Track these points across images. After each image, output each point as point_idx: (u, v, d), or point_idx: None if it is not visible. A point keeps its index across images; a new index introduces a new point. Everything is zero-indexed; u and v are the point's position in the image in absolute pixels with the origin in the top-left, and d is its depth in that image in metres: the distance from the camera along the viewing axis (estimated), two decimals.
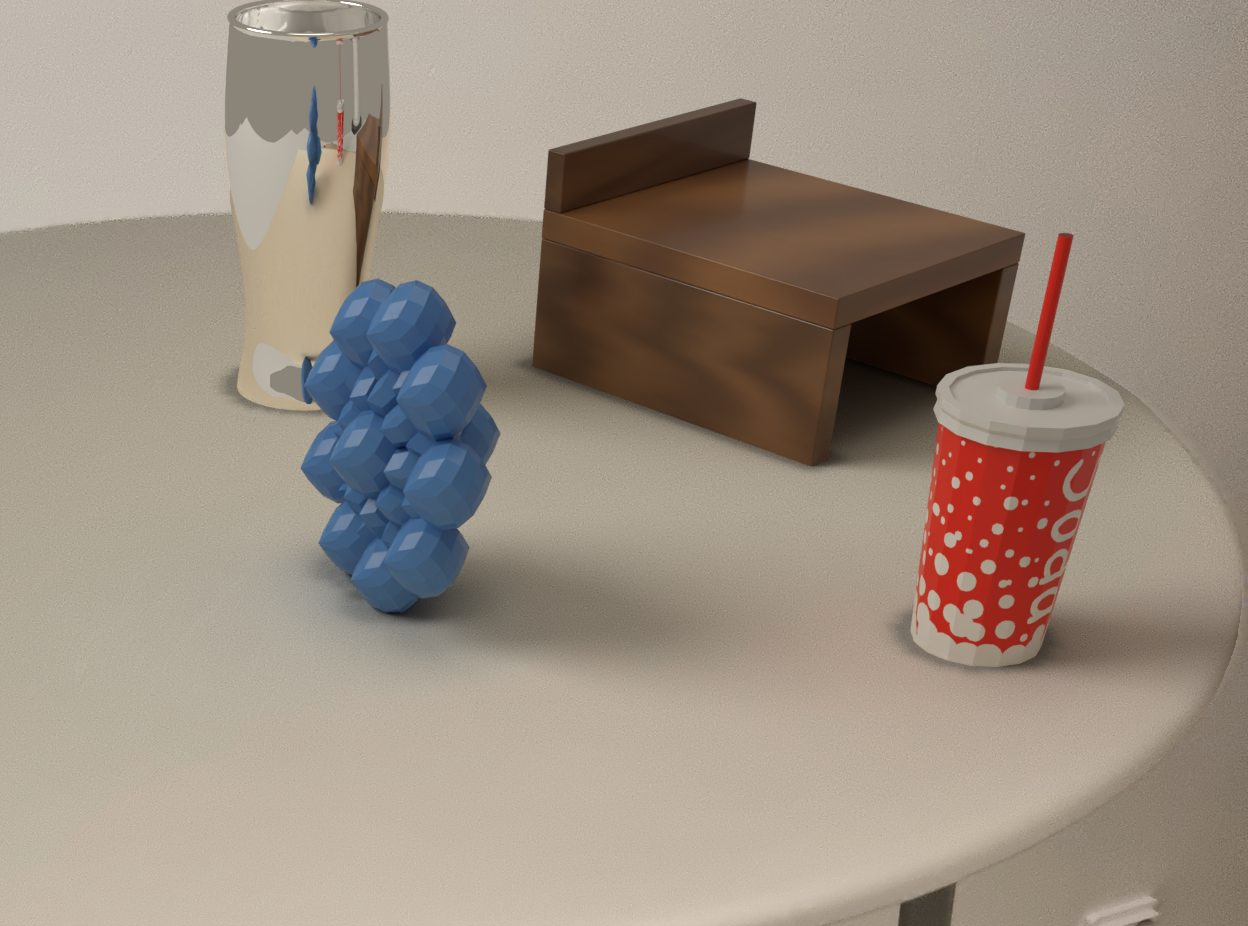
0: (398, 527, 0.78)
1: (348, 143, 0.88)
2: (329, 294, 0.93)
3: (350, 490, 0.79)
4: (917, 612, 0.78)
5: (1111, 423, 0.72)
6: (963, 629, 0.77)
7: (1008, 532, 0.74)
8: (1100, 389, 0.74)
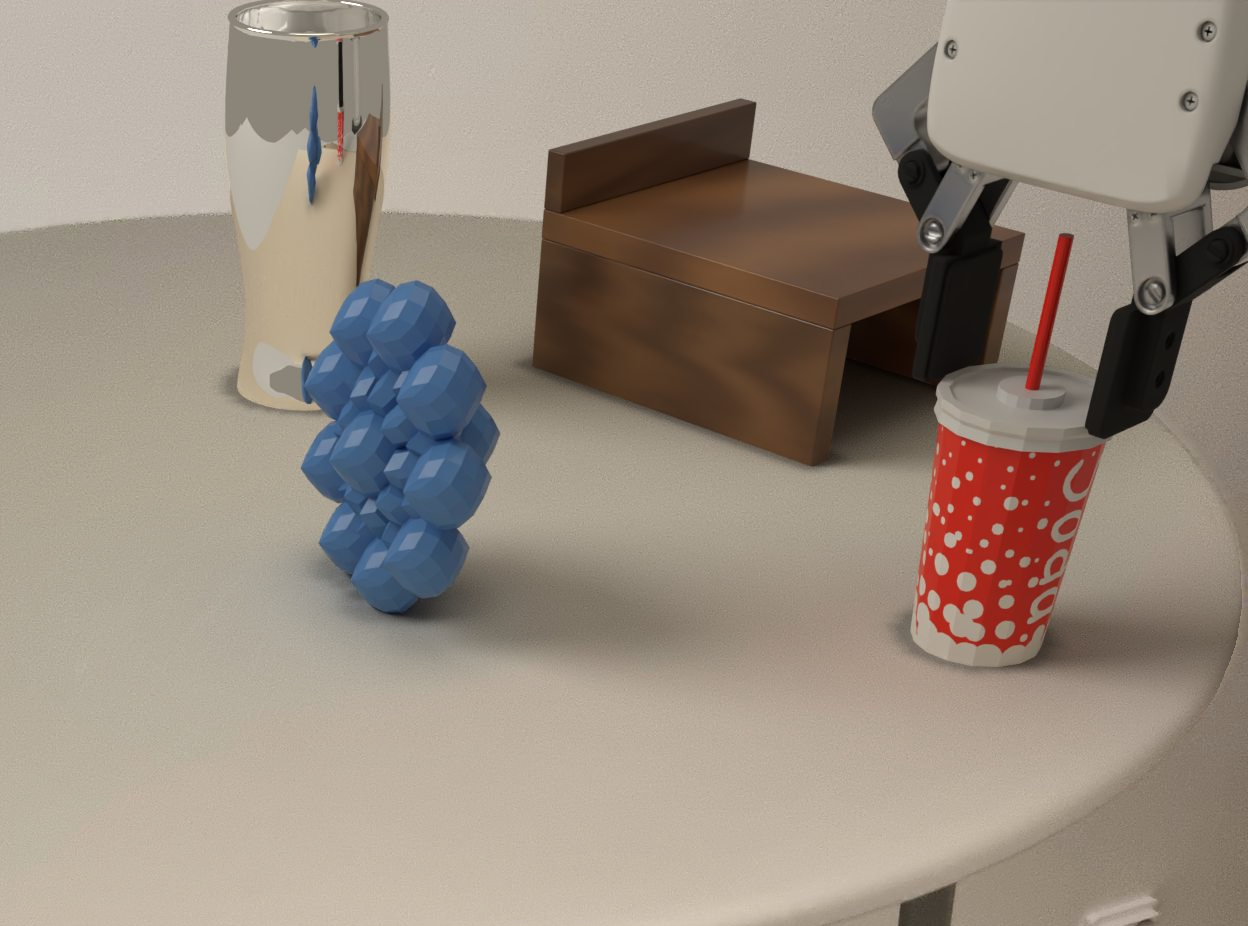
0: (398, 527, 0.78)
1: (348, 143, 0.88)
2: (329, 294, 0.93)
3: (350, 490, 0.79)
4: (917, 612, 0.78)
5: None
6: (963, 629, 0.77)
7: (1008, 533, 0.74)
8: None
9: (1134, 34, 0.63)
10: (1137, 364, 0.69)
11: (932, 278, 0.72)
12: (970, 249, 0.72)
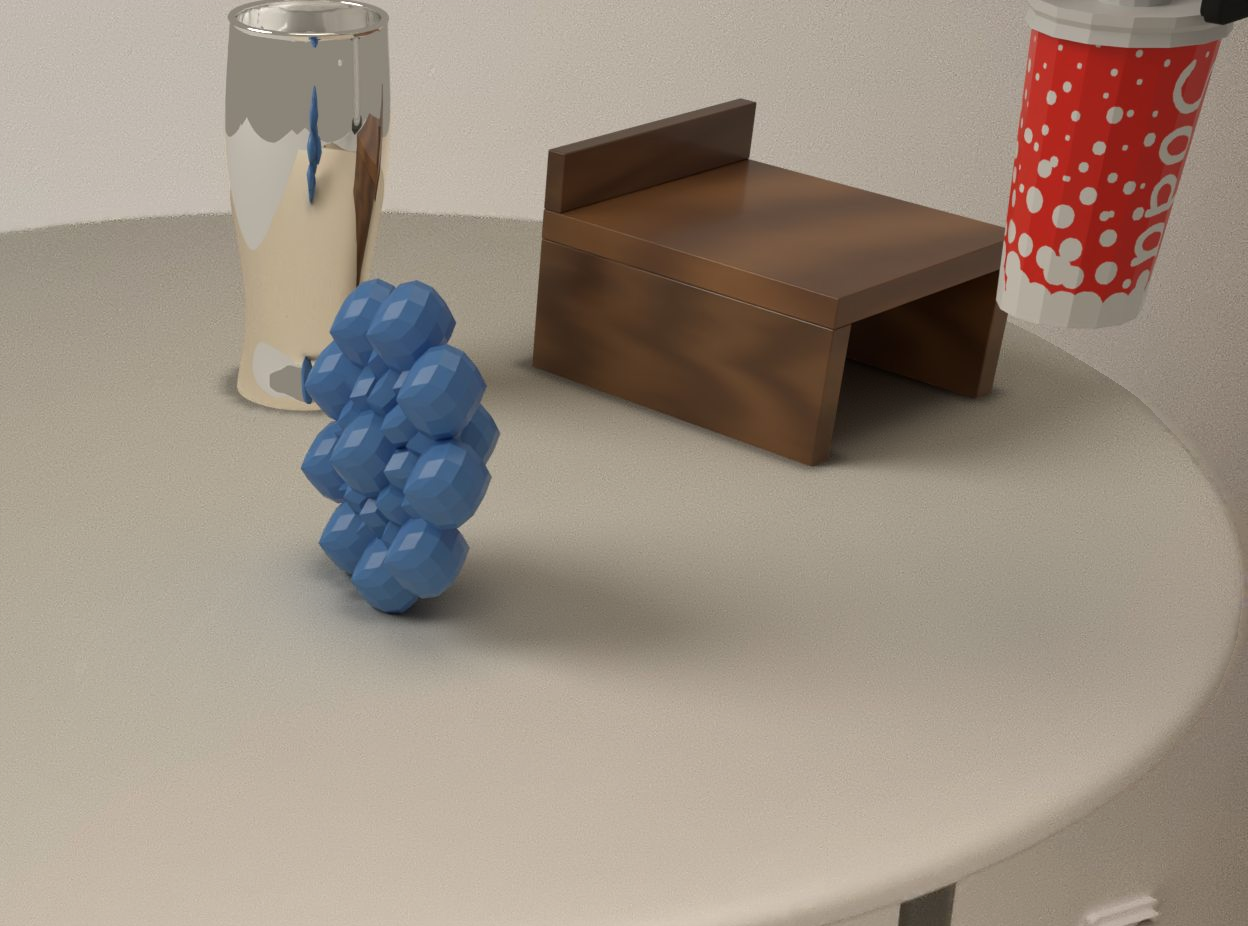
0: (398, 527, 0.78)
1: (348, 143, 0.88)
2: (329, 294, 0.93)
3: (350, 490, 0.79)
4: (1006, 264, 0.70)
5: None
6: (1058, 276, 0.69)
7: (1111, 152, 0.66)
8: None
9: None
10: None
11: None
12: None
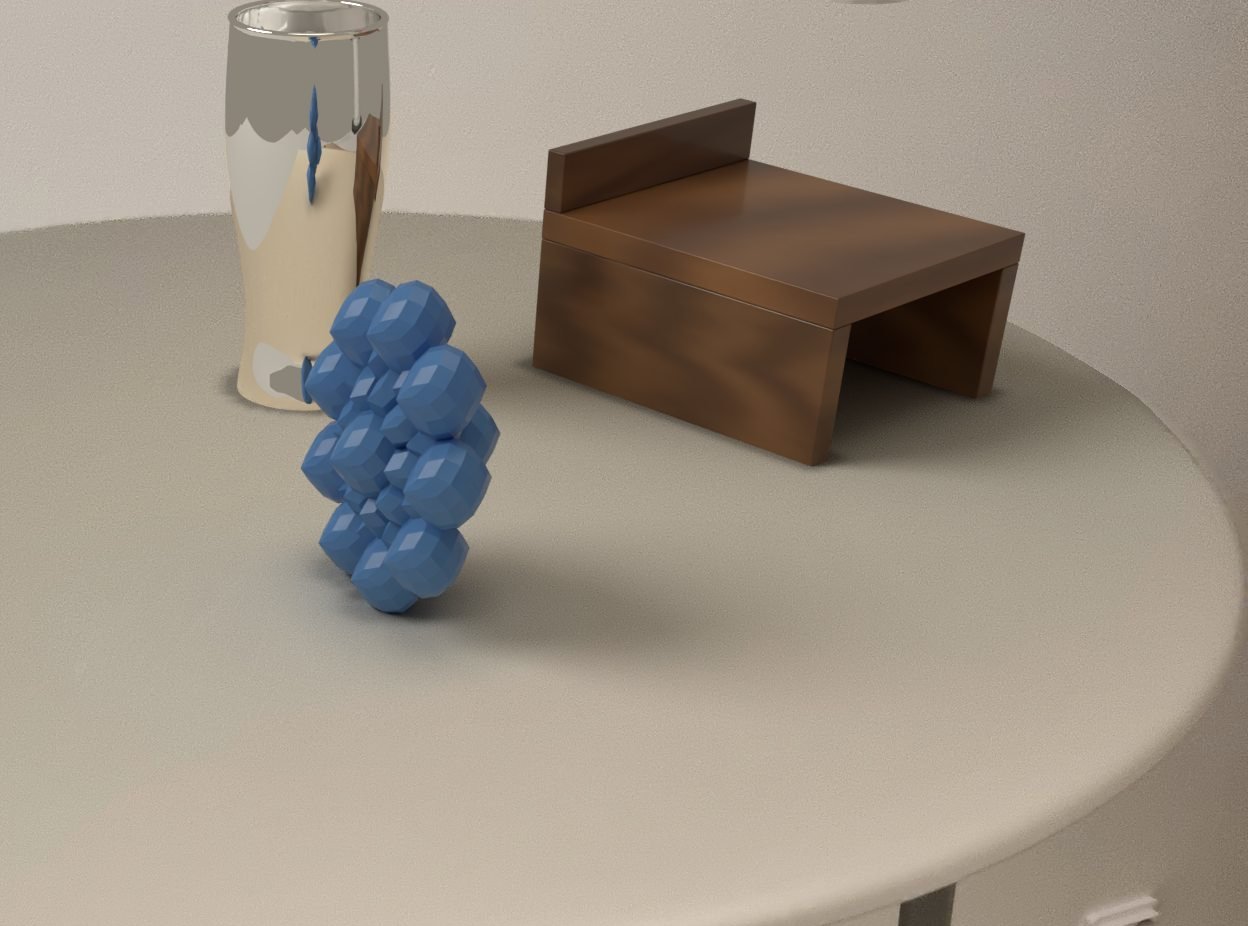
0: (398, 527, 0.78)
1: (348, 143, 0.88)
2: (329, 294, 0.93)
3: (350, 490, 0.79)
4: None
5: None
6: None
7: None
8: None
9: None
10: None
11: None
12: None
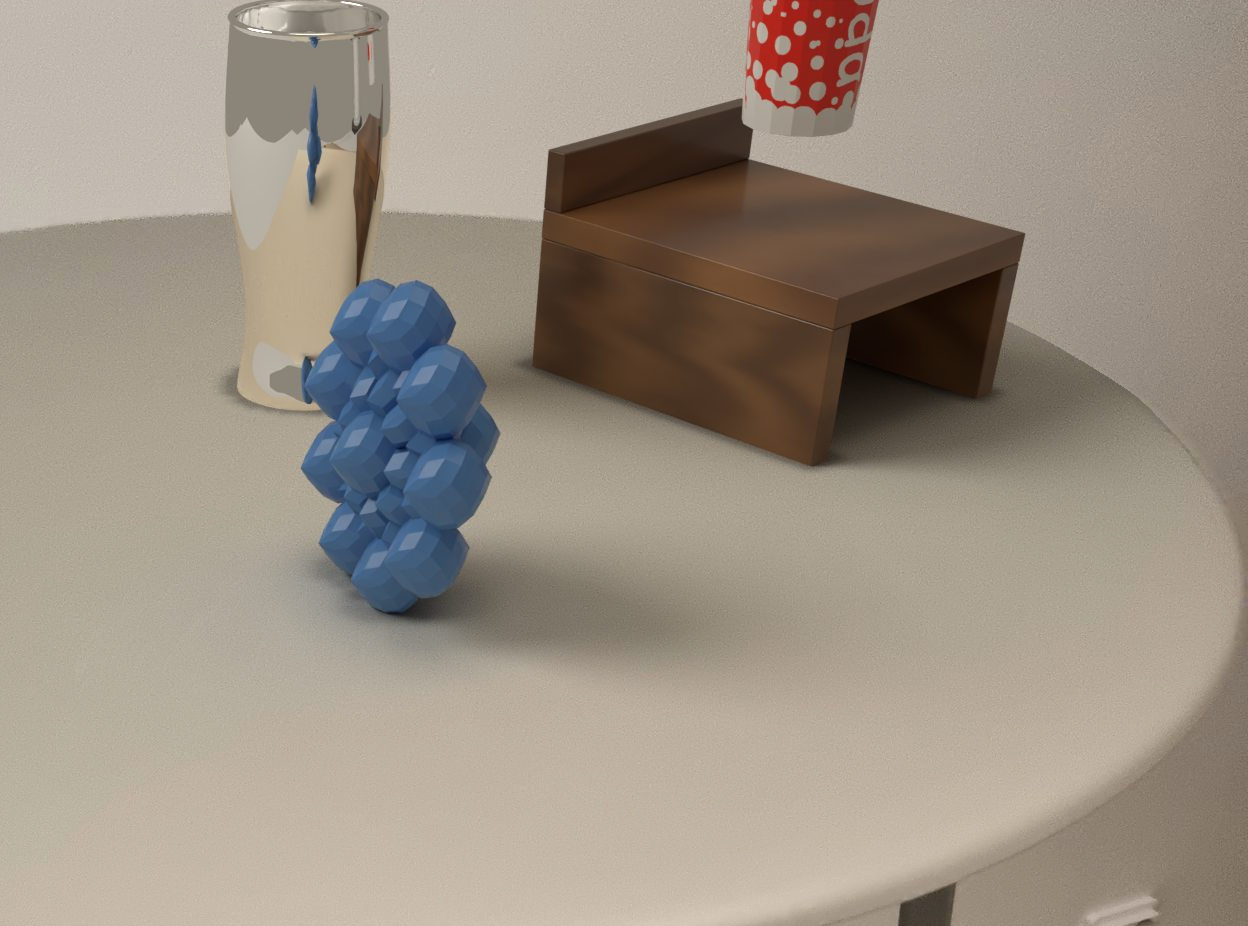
0: (398, 527, 0.78)
1: (348, 143, 0.88)
2: (329, 294, 0.93)
3: (350, 490, 0.79)
4: (745, 87, 0.91)
5: None
6: (782, 93, 0.89)
7: None
8: None
9: None
10: None
11: None
12: None
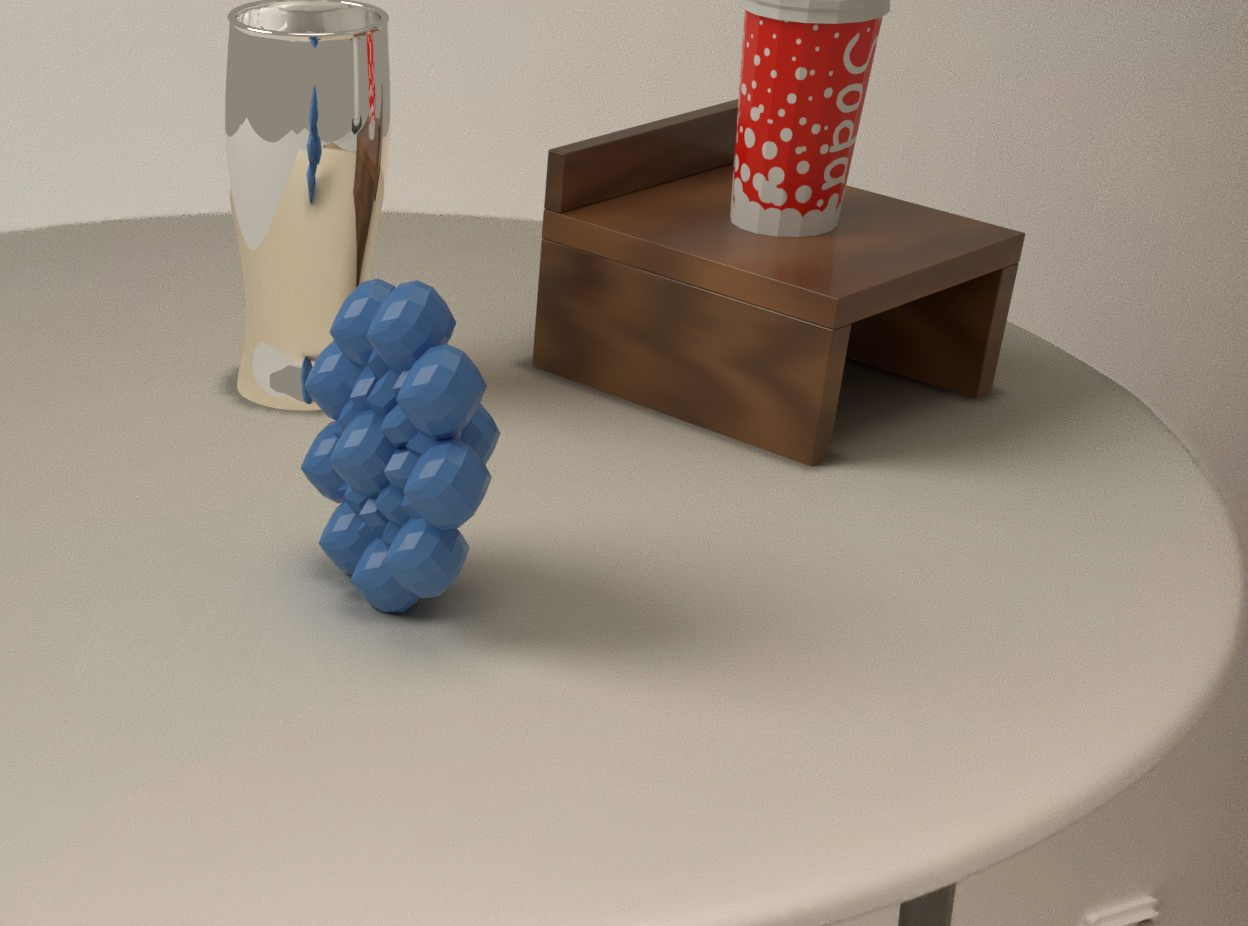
0: (398, 527, 0.78)
1: (348, 143, 0.88)
2: (329, 294, 0.93)
3: (350, 490, 0.79)
4: (733, 188, 0.93)
5: (881, 1, 0.87)
6: (769, 196, 0.92)
7: (800, 101, 0.89)
8: None
9: None
10: None
11: None
12: None
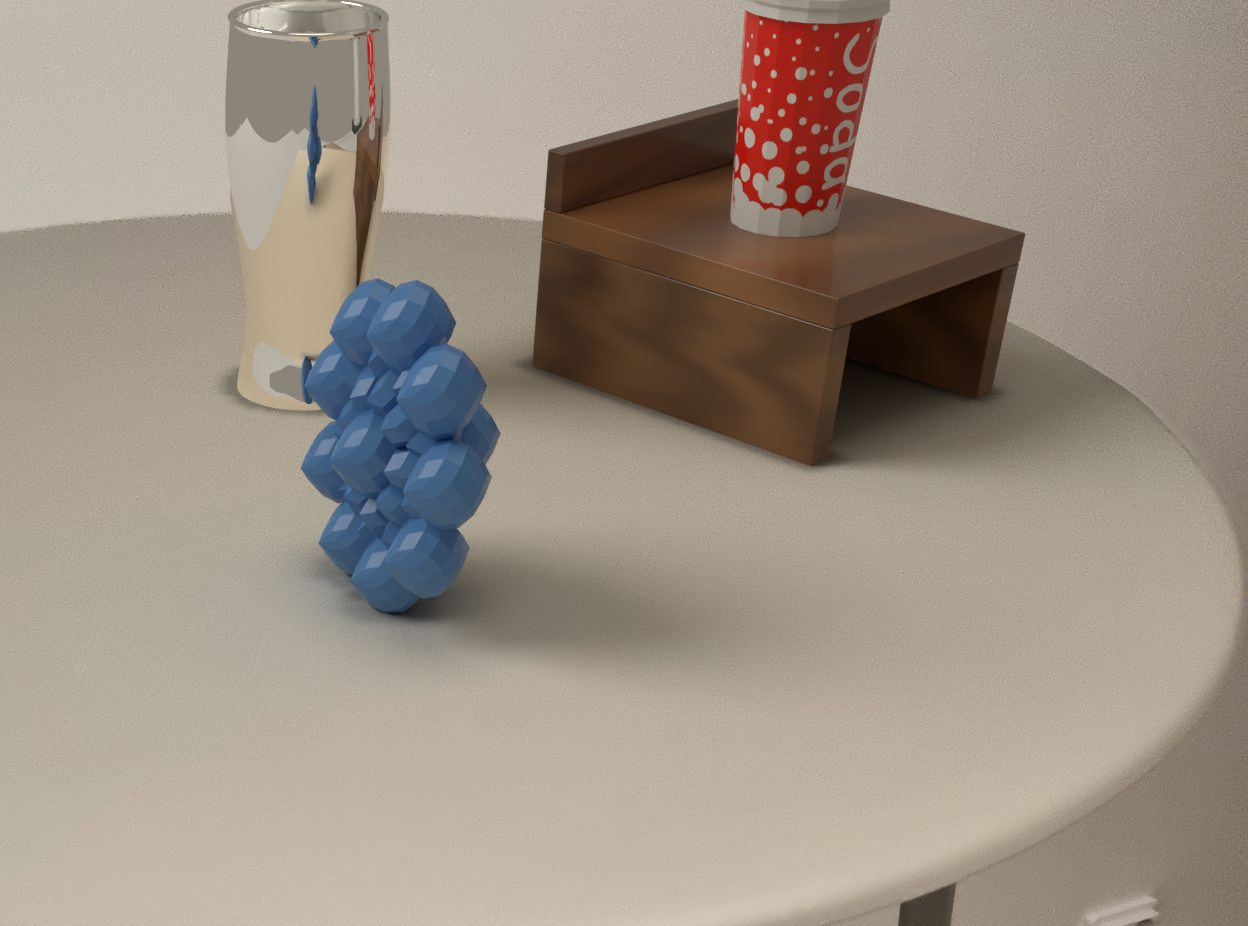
0: (398, 527, 0.78)
1: (348, 143, 0.88)
2: (329, 294, 0.93)
3: (350, 490, 0.79)
4: (734, 188, 0.93)
5: (881, 1, 0.87)
6: (769, 196, 0.92)
7: (800, 101, 0.89)
8: None
9: None
10: None
11: None
12: None
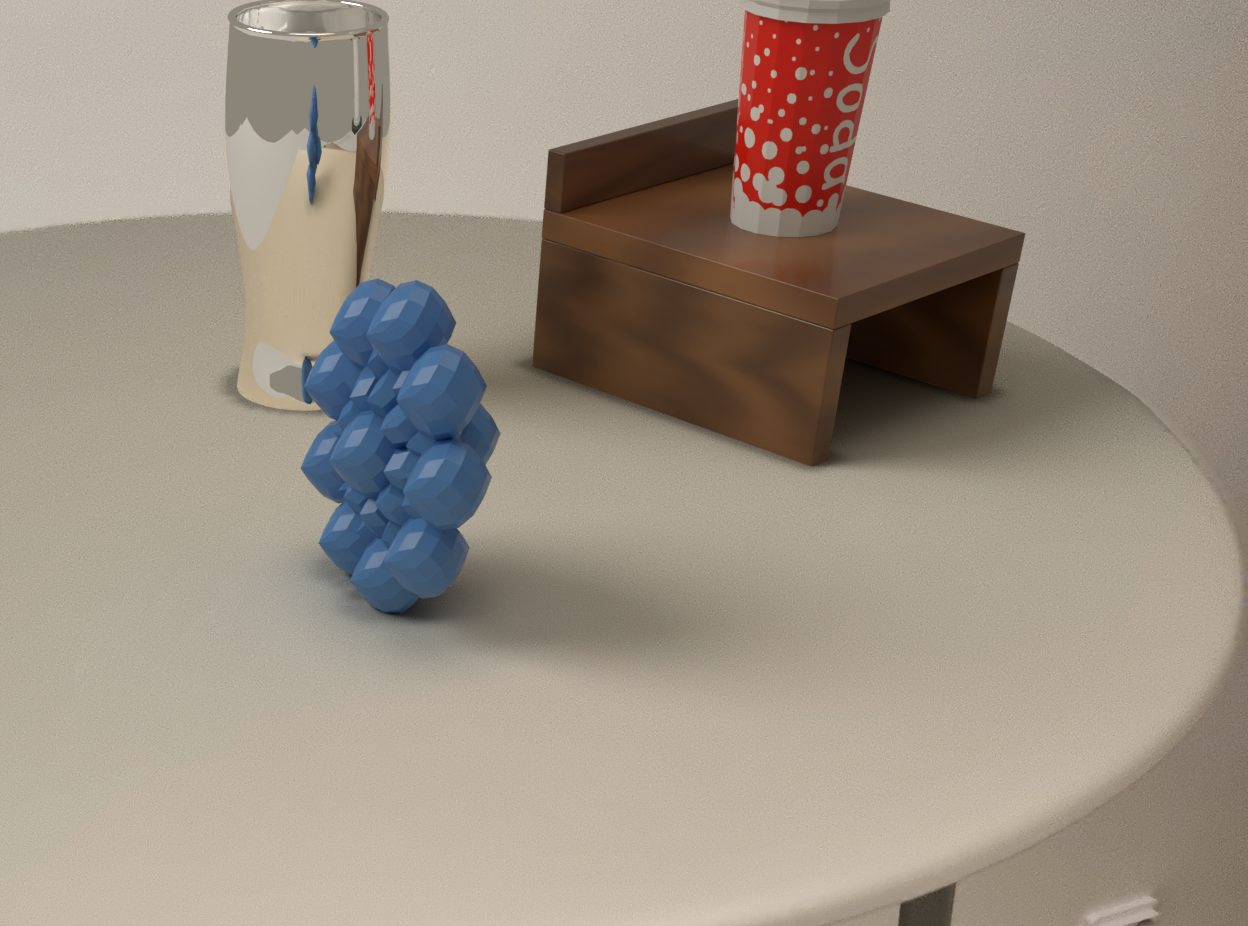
0: (398, 527, 0.78)
1: (348, 143, 0.88)
2: (329, 294, 0.93)
3: (350, 490, 0.79)
4: (733, 188, 0.93)
5: (881, 1, 0.87)
6: (769, 196, 0.92)
7: (800, 101, 0.89)
8: None
9: None
10: None
11: None
12: None
